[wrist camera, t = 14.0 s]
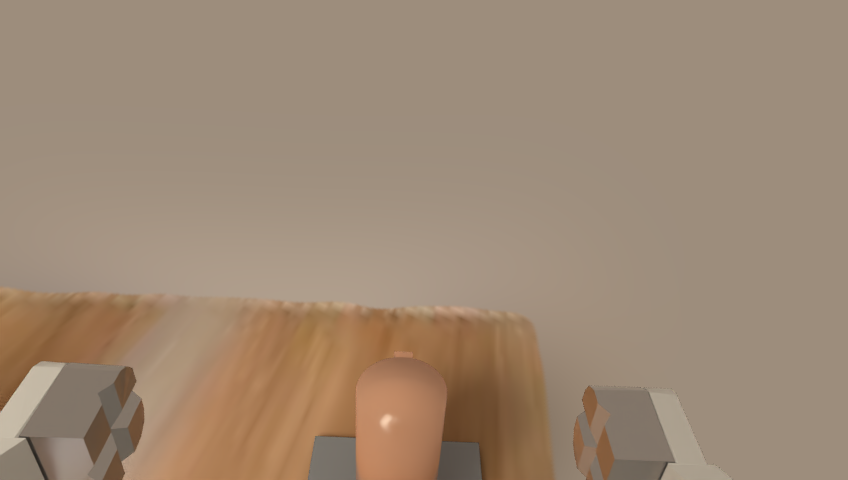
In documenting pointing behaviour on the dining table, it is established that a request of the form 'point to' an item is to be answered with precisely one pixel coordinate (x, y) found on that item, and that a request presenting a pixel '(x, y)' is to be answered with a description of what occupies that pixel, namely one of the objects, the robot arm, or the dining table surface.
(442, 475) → the mat
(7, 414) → the robot arm
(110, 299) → the dining table surface
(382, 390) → the tall peach cylinder
